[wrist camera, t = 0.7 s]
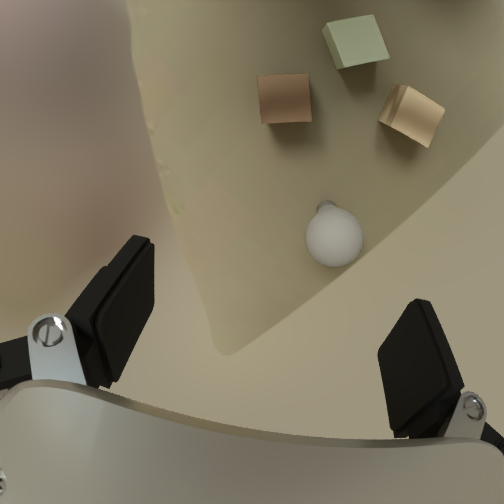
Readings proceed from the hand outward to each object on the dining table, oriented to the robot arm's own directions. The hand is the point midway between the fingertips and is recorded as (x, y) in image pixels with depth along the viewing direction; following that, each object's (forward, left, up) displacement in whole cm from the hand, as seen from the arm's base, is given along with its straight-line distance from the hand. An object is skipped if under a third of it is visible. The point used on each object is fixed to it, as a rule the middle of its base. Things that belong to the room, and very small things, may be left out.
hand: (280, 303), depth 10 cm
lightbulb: (+7, +7, -28) cm, 30 cm away
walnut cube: (-5, -1, -28) cm, 29 cm away
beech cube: (-7, +13, -28) cm, 32 cm away
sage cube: (-13, +5, -28) cm, 31 cm away
